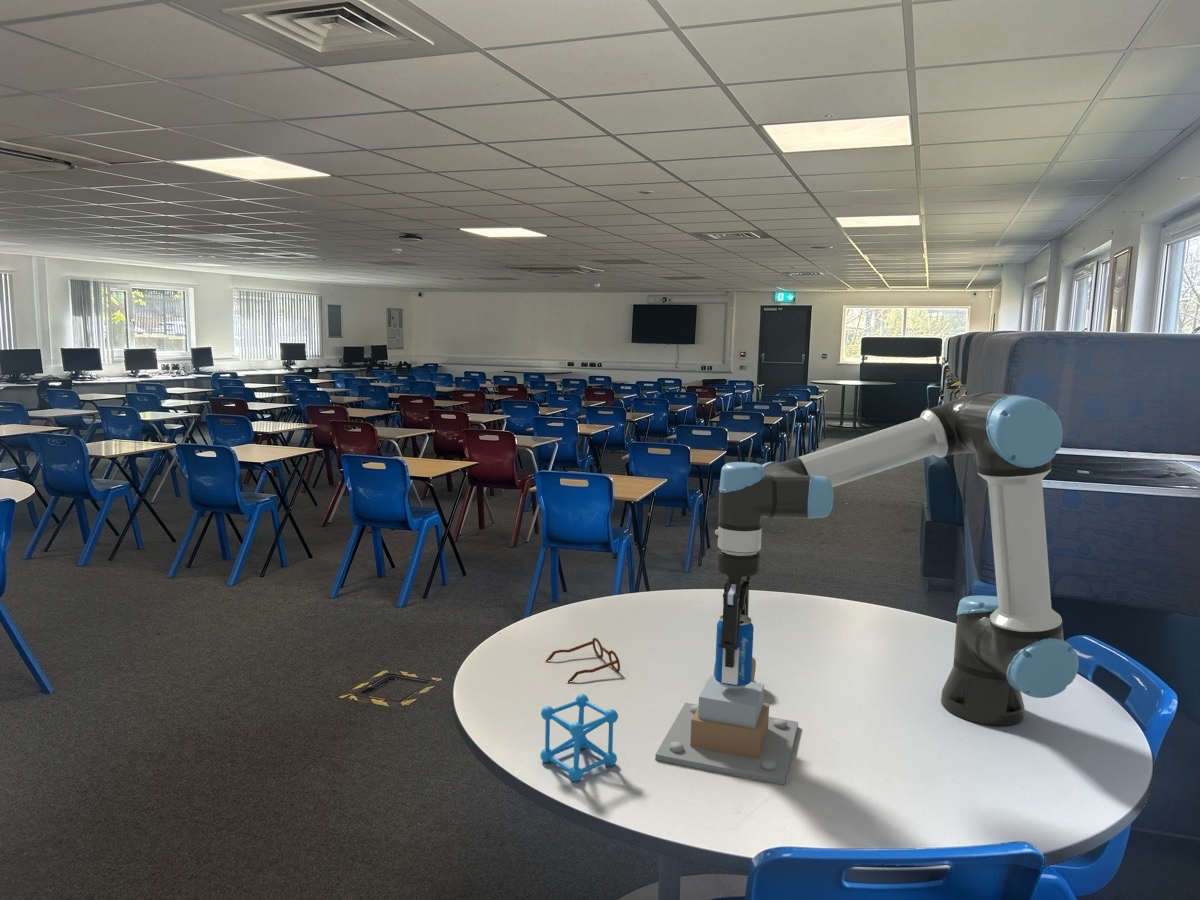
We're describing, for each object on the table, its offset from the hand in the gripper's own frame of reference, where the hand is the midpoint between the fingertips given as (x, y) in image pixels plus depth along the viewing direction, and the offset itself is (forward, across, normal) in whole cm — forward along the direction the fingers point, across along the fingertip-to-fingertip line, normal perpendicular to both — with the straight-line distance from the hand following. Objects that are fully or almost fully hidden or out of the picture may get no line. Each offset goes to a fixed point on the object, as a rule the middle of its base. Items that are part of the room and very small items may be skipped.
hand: (733, 674), depth 144 cm
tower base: (+13, 0, 0) cm, 13 cm away
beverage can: (+2, 0, 0) cm, 2 cm away
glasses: (+14, -22, -37) cm, 45 cm away
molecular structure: (+13, +17, -23) cm, 32 cm away
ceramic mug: (+13, -26, -4) cm, 29 cm away
